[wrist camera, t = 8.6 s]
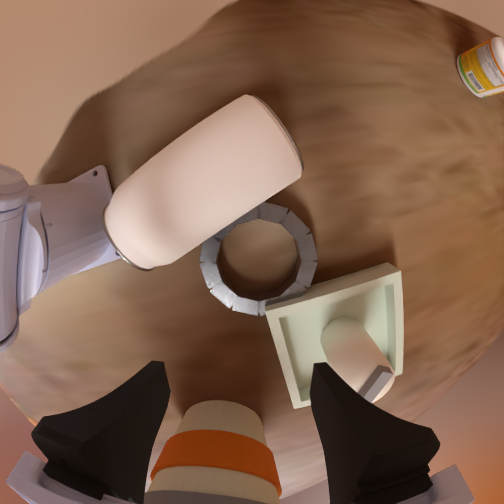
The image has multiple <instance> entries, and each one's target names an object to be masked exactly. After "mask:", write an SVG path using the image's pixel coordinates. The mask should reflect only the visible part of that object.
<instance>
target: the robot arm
mask: <svg viewBox="0 0 504 504" xmlns="http://www.w3.org/2000/svg"><path fill="white" fill-rule="evenodd" d="M96 171H97V176H95V172H96ZM112 196H113V194H112V190H111V186H110V182H109V178H108V174H107V170H106V167H105V166H103V165H99V166H97V167H95V168H93V169H91V170H89V171H87V172H85V173H83V174H82V175H80V176H78V177H76V178H74V179H73V180H71V181H69V182H67V183H58V184H42V185H29V184H28V183H27V181H25V179H24V177H23V175H22V174H21V173H20V172H19V171H17V170H16V169H14V168H11V167H9V166H6V165H3V164H0V353H2V352H4V351H5V350H7V349H8V348H9V347H10V346H11V345H12V344H13V343H14V341H15V339H16V338H17V335H18V332H19V315H20V314H22V313H23V312H25V311H26V310H28V309H29V308H30V303H31V300H32V299H33V298H34V297H35V296H36V295H38V294H39V293H41V292H43V291H44V290H46V289H48V288H49V287H51V286H53V285H54V284H56V283H58V282H60V281H61V280H63V279H65V278H67V277H68V276H70V275H73V274H76V273H78V272H81V271H84V270H87V269H90V268H93V267H96V266H99V265H102V264H105V263H108V262H111V261H114V260H117V259H120V258H122V257H121V256H120V255H119V254H118V252H117V251H116V250H115V248H114V247H113V246H112V244H111V242H110V241H109V239H108V237H107V235H106V233H105V230H104V227H103V222H102V212H103V209H104V208H105V206H106V205H108V204H110V201H111V199H112ZM170 392H171V391H170V388H169V383H168V379H167V375H166V371H165V366H164V362H160V361H151V362H150V363H148V364H147V365H146V366H145V367H144V368H142V369H141V370H140V371H139V372H138V373H136V374H135V375H134V376H133V377H131V378H130V379H129V380H128V381H126V382H125V383H124V384H122V385H121V386H119V387H118V388H116V389H115V390H114V391H112V392H111V393H109V394H107V395H106V396H104V397H102V398H100V399H98V400H96V401H94V402H92V403H90V404H88V405H85V406H83V407H81V408H78V409H75V410H72V411H68V412H65V413H61V414H56V415H51V416H45V417H43V418H42V419H41V420H40V422H39V423H38V424H37V426H36V427H35V428H34V430H33V431H32V433H31V435H32V438H33V440H34V442H35V444H36V445H37V446H38V448H39V449H40V450H41V451H42V452H43V454H44V455H45V456H46V457H47V458H48V462H47V464H46V463H44V462H43V461H42V460H40V459H39V458H37V457H35V456H34V455H32V454H30V453H28V452H26V451H25V452H24V454H23V455H22V457H21V458H20V460H19V461H18V463H17V464H16V466H15V467H14V469H13V471H12V472H11V474H10V475H9V477H8V478H7V480H6V483H7V484H8V485H9V486H10V487H11V488H12V489H13V490H14V491H15V492H17V493H18V494H19V495H20V496H21V497H22V498H24V499H25V500H26V501H27V502H28V503H30V504H144V492H145V484H146V477H147V471H148V466H149V461H150V456H151V452H152V447H153V444H154V441H155V438H156V436H157V433H158V431H159V428H160V425H161V423H162V420H163V417H164V415H165V412H166V409H167V406H168V402H169V397H170ZM309 394H310V401H311V407H312V412H313V416H314V419H315V422H316V426H317V429H318V432H319V436H320V439H321V442H322V446H323V450H324V455H325V462H326V468H327V476H328V484H329V494H330V504H471V503H472V502H474V500H475V499H474V496H473V495H472V493H471V491H470V489H469V487H468V485H467V483H466V482H465V480H464V478H463V476H462V475H461V473H460V471H459V469H458V467H457V466H456V465H452V466H450V467H448V468H446V469H445V470H442V471H440V472H438V473H436V474H434V475H433V476H432V477H429V475H428V472H429V471H430V469H429V466H428V463H429V462H430V460H431V459H432V458H433V457H434V456H435V454H436V453H437V451H438V450H439V447H440V442H439V440H438V439H437V437H436V435H435V433H434V432H433V430H432V429H431V428H428V427H425V426H421V425H417V424H414V423H411V422H408V421H405V420H402V419H400V418H398V417H395V416H393V415H391V414H389V413H387V412H385V411H383V410H382V409H380V408H378V407H377V406H375V405H374V404H372V403H370V402H369V401H367V400H366V399H365V398H363V397H362V396H361V395H360V394H358V393H357V392H356V391H355V390H354V389H353V388H351V387H350V386H349V385H348V384H347V383H346V382H345V381H344V380H343V379H342V378H341V377H340V376H339V375H338V374H337V373H336V372H335V371H334V370H333V369H332V368H331V367H330V365H329V364H328V363H327V362H321V363H314V365H313V372H312V379H311V386H310V392H309Z"/></svg>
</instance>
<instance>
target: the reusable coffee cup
mask: <svg viewBox="0 0 504 504" xmlns="http://www.w3.org/2000/svg"><path fill="white" fill-rule="evenodd" d="M150 477H151V481H152V483H151V485H150V487H149V489H148V491H147V492H145V493H144V504H280V500H279V497H280V495H281V492H282V489H281V485H280V481H279V477H278V473H277V469H276V465H275V460H274V457H273V454H272V452H271V451H270V449H269V448H268V447H267V444H266V439H265V435H264V430H263V425H262V422H261V419H260V418H259V416H258V415H257V414H256V413H255V412H254V411H253V410H251V409H249V408H248V407H246V406H243V405H241V404H238V403H235V402H230V401H224V400H210V401H204V402H200V403H197V404H194V405H193V406H191V407H190V408H189V409H188V410H187V411H186V413H185V415H184V417H183V419H182V421H181V423H180V425H179V427H178V429H177V431H176V433H175V435H174V436H172V437H171V438H170V439H169V440H168V441H167V442H166V444H165V446H164V448H163V450H162V452H161V454H160V456H159V458H158V460H157V462H156V464H155V466H154V468H153V470H152V472H151V475H150Z"/></svg>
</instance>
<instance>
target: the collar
mask: <svg viewBox="0 0 504 504" xmlns="http://www.w3.org/2000/svg"><path fill="white" fill-rule="evenodd" d="M255 219H262V220H266V221H270V222H274V223H278V224H281V225H282V226H283V227H284V228H285V229H286V230H287V231H288V232H289V233H290V234H291V235H292V236H293V237H294V240H295V244H296V249H297V253H298V258H297V262H296V265H295V268H294V272H293V275H292V276H291V277H290V278H289V279H288V280H287V281H285V282H284V283H283V284H282V285H281V286H280V287H279V288H278V289H274V290H271V291H267V292H263V293H259V294H258V293H254V292H250V291H245V290H241V289H239V288H238V287H236V286H235V285H234V284H233V283H232V282H231V281H230V280H229V279H228V278H227V277H225V276H224V273H223V269H222V266H221V263H220V260H219V257H218V256H219V252H220V248H221V243H222V239H223V238H224V237H225V236H226V235H227V234H228V233H229V232H230V231H231V230H232V229H233V228H234V227H235V226H236V225H237V224H241V223H244V222H248V221H251V220H255ZM316 260H318V257H317V253H316V248H315V244H314V239H313V235H312V233H311V232H310V229H309V228H308V227H307V226H306V225H305V224H304V223H303V222H302V221H301V220H300V219H299V218H298V217H297V216H296V215H295V214H294V213H293V212H292V211H291V210H290V209H288V208H286V207H284V206H280V205H277V204H273V203H269V202H265V201H264V202H262V203H261V204H259V205H258V206H256V207H255V208H253V209H251V210H250V211H248V212H247V213H245V214H244V215H242V216H241V217H239V218H238V219H236V220H235V221H233V222H232V223H230V224H229V225H227V226H226V227H224V228H223V229H221V230H220V231H218V232H217V233H216V234H214V235H213V236H211V237H210V238H208V239H207V240H205V241H204V242H203V245H202V250H201V255H200V259H199V261H201V262H200V267H201V270H202V273H203V276H204V279H205V282H206V285H207V288H208V289H209V288H211V289H210V292H211V293H212V294H213V295H214V296H215V297H217V298H218V299H219V300H220V301H221V302H222V303H223V304H225V305H226V306H227V307H228V308H230V307H232V306H233V308H232V310H234V311H238V312H243V313H247V314H251V315H256V316H258V313H259V312H260V315H261V316H262V315H266V313H265V306H268V305H272V304H276V303H280V302H283V301H287V300H291V299H294V298H298V297H301V296H302V295H303V294H304V293H305V292H307V291H308V289H307V287H309V288H310V285H311V282H312V279H313V276H314V273H315V270H316V267H317V264H318V262H317V261H316Z"/></svg>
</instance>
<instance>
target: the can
mask: <svg viewBox="0 0 504 504" xmlns="http://www.w3.org/2000/svg"><path fill="white" fill-rule="evenodd" d="M303 170H304V164H303V160H302V157H301V155H300V152H299V150H298V148H297V146H296V144H295V142H294V140H293V139H292V137H291V135H290V134H289V132H288V130H287V129H286V127H285V126H284V124H283V123H282V122H281V120H280V119H279V118H278V116H277V115H276V114H275V112H274V111H273V110H272V109H271V108H270V107H269V106H268V105H267V104H266V103H265V102H264V101H263V100H262V99H261V98H259V97H258V96H255V95H252V96H250V95H243V96H241V97H239V98H238V99H236V100H234V101H233V102H231V103H229V104H228V105H226V106H224V107H223V108H221V109H219V110H218V111H216V112H215V113H213V114H212V115H210V116H209V117H207V118H205V119H204V120H202V121H201V122H199V123H198V124H197V125H195V126H194V127H192V128H191V129H189V130H188V131H187V132H185V133H184V134H182V135H181V136H180V137H178V138H177V139H175V140H174V141H173V142H171V143H170V144H169V145H167V146H166V147H165V148H164V149H162V150H161V151H160V152H158V153H157V154H156V155H155V156H153V157H152V158H151V159H150V160H148V161H147V162H146V163H145V164H143V165H142V166H141V167H140V168H139V169H138V170H136V171H135V172H134V173H133V174H132V175H131V176H129V177H128V178H127V179H126V180H125V181H124V182H123V183H122V184H121V185H120V186H119V187H118V188H117V189H116V190H115V192H114V194H113V196H112V199H111V201H110V204H108V205H106V206H105V208H104V209H103V212H102V222H103V227H104V230H105V233H106V235H107V237H108V239H109V241H110V242H111V244H112V246H113V247H114V248H115V250H116V251H117V252H118V254H119V255H120V256H121V257H122V258H123V259H124V260H125V261H127V262H128V263H129V264H130V265H132V266H133V267H135V268H137V269H139V270H142V271H151V270H153V269H154V268H155V267H156V266H161V265H167V264H170V263H172V262H174V261H176V260H177V259H179V258H180V257H182V256H183V255H185V254H186V253H188V252H189V251H191V250H192V249H194V248H195V247H196V246H198V245H199V244H201V243H202V242H204V241H205V240H207V239H208V238H210V237H211V236H213V235H214V234H216V233H217V232H218V231H220V230H221V229H223V228H224V227H226V226H227V225H229V224H230V223H232V222H233V221H235V220H236V219H238V218H239V217H241V216H242V215H244V214H245V213H247V212H248V211H250V210H251V209H253V208H255V207H256V206H258V205H259V204H261V203H262V202H264V201H265V200H267V199H268V198H270V197H271V196H273V195H274V194H276V193H278V192H279V191H281V190H282V189H284V188H285V187H287V186H288V185H290V184H291V183H293V182H294V181H296V180H297V179H299V178H300V177H301V172H302V171H303Z"/></svg>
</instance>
